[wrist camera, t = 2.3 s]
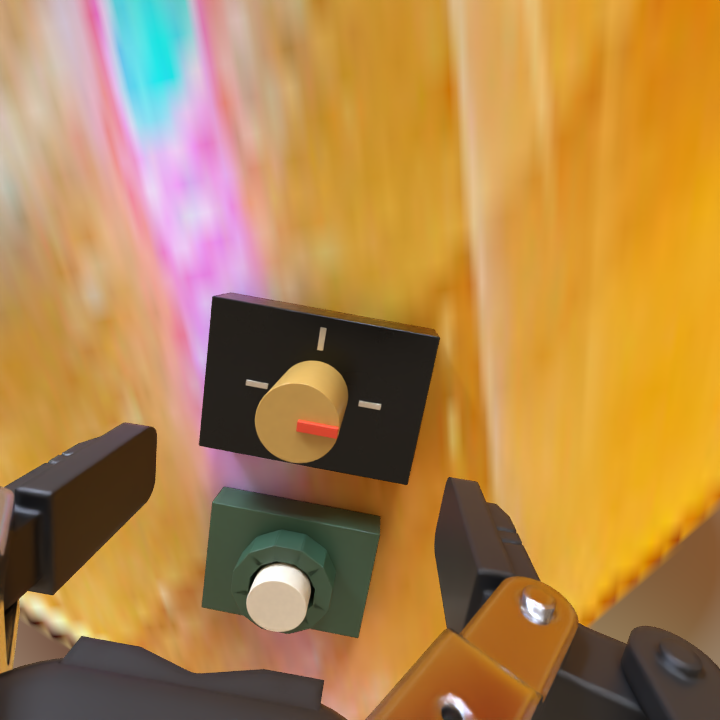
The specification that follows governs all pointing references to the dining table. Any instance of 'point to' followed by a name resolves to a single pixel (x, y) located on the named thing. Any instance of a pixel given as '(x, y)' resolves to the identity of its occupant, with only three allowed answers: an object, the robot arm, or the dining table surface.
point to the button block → (291, 555)
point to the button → (279, 597)
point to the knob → (302, 412)
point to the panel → (328, 345)
